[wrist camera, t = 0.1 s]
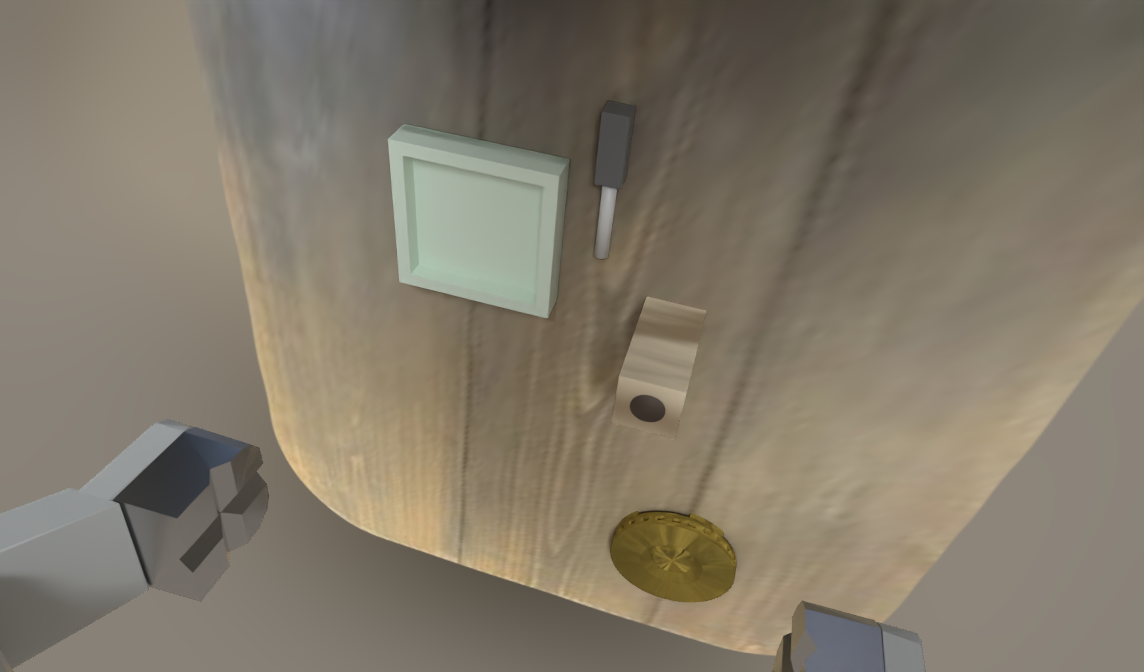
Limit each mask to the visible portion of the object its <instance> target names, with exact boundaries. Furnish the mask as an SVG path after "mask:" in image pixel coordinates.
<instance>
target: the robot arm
mask: <svg viewBox="0 0 1144 672" xmlns="http://www.w3.org/2000/svg"><path fill="white" fill-rule="evenodd" d="M262 464H263V460H262V455H261V451H260V448H259V447H257V446H254V445H250V444H247V443H244V442H241V441H238V440H235V439H232V438H229V437H225V436H222V435H219V434H216V433H213V432H210V431H206V430H203V429H200V428H197V427H193V426H190V425H187V424H183V423H180V422H177V421H173V420H170V419H164V420H162V421H159V422H157V423H154V424H153V425H152V426H151V427H150V428H148V429H147V430H146V431H145V432H144V433H143V434H142V435H141V436H140V437H138V438H137V439H136V440H135V441H134V442H133V443H132V444H131V445H130V446H128V447H127V448H126V449H125V450H124V451H123V452H122V453H120V454H119V455H118V456H117V457H116V458H115V459H114V460H113V461H111V462H110V463H109V464H108V465H107V466H106V467H105V468H104V469H103V470H101V471H100V472H99V473H98V474H97V475H96V476H95V477H93V478H92V479H91V480H90V481H89V482H88V483H87V484H86V485H85V486H83V487H82V488H81V489H80V490H76V489H72V488H69V489H66V490H64V491H61V492H58V493H56V494H53V495H51V496H47V497H45V498H42V499H39V500H36V501H34V502H31V503H29V504H26V505H23V506H20V507H17V508H15V509H12V510H9V511H7V512H4V513H1V514H0V672H14V671H13V670H12V669H13V668H15V667H17V666H18V665H20V664H22V663H24V662H25V661H27V660H29V659H30V658H32V657H34V656H36V655H37V654H39V653H41V652H42V651H44V650H46V649H48V648H49V647H51V646H53V645H55V644H56V643H58V642H60V641H61V640H63V639H65V638H67V637H68V636H70V635H72V634H74V633H76V632H77V631H79V630H81V629H82V628H84V627H86V626H88V625H89V624H91V623H93V622H95V621H96V620H98V619H100V618H101V617H103V616H105V615H107V614H108V613H110V612H112V611H114V610H115V609H117V608H119V607H120V606H122V605H124V604H126V603H127V602H129V601H131V600H133V599H134V598H136V597H138V596H139V595H141V594H143V593H145V592H146V591H148V590H149V587H152V588H156V589H159V590H163V591H166V592H169V593H173V594H177V595H180V596H183V597H187V598H190V599H194V600H197V601H200V602H201V601H202V600H203V599H204V597H205V596H206V595H207V593H208V592H209V591H210V590H211V589H212V587H213V586H214V585H215V584H216V582H217V581H218V580H219V579H220V577H221V576H222V575H223V574H224V572H225V571H226V570H227V569H228V567H229V566H230V565H229V564H230V561H229V560H230V558H229V557H230V556H229V554H230V551H232V550H234V549H236V548H238V547H241V546H243V545H245V544H247V543H248V542H249V541H250V540H251V538H252V537H253V536H254V534H255V533H256V532H257V530H258V529H259V527H260V525H261V523H262V521H263V519H264V516H265V514H266V511H267V508H268V500H269V493H268V486H267V483H266V482H265V481H264V480H263V479H262V477H261V476H260V475H259V474H258V473H257V470H258V469H259V468H260V467H261V466H262ZM148 586H149V587H148ZM772 672H926V669H925V662H924V655H923V647H922V641H921V639H920V638H919V636H918V634H917V633H914V632H911V631H907V630H904V629H900V628H897V627H893V626H890V625H886V624H883V623H879V622H875V620H871V619H868V618H864V617H860V616H857V615H853V614H849V613H846V612H842V611H838V610H834V609H831V608H827V607H823V606H820V605H816V604H812V603H809V602H805V601H801V602H800V603H799V604H798V605H797V608H796V610H795V612H794V614H793V616H792V633H789V634H787V635H784V636H783V638H782V641H781V643H780V645H779V648H778V650H777V654H776V658H775V662H774V666H773V671H772Z"/></svg>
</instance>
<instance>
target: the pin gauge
mask: <svg viewBox="0 0 1144 672" xmlns="http://www.w3.org/2000/svg"><path fill="white" fill-rule="evenodd" d="M635 112H636V106H634V105H629V104H623V103H618V102H613V101H608V102H607V104H606V105H605V107H604V109H603V110H602V114H601V124H600V133H599V143H598V152H597V161H596V171H595V180H594V184H597V185H602V193H601V202H600V211H599V220H598V228H597V237H596V246H595V257H596V258H599V259H606V258H608V256H609V248H610V240H611V232H612V225H613V217H614V209H615V202H616V194H617V189H621V188H622V186H623V184H624V182H625V179H626V177H627V170H628V163H629V155H630V148H631V141H632V133H633V126H634V119H635Z"/></svg>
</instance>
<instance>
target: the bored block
mask: <svg viewBox="0 0 1144 672" xmlns="http://www.w3.org/2000/svg"><path fill="white" fill-rule="evenodd" d="M705 315H706V310H702V309H698V308H693V307H689V306H685V305H681V304H677V303H672V302H668V301H664V300H660V299H656V298H651V297H646V300H645V303H644V306H643V308H642V311H641V314H640V317H639V320H638V323H637V326H636V329H635V332H634V334H633V337H632V340H631V343H630V346H629V349H628V352H627V355H626V358H625V360H624V363H623V366H622V369H621V372H620V375H619V380H618V386H617V391H616V397H615V403H614V409H613V415H612V420H611V423H615V424H619V425H623V426H626V427H630V428H634V429H638V430H641V431H645V432H649V433H653V434H656V435H660V436H664V437H668V438H672V439H675V437H676V433H677V429H678V425H679V422H680V418H681V414H682V410H683V406H684V402H685V398H686V395H687V391H688V386H689V382H690V378H691V374H692V370H693V365H694V361H695V357H696V353H697V349H698V344H699V340H700V336H701V332H702V328H703V324H704V319H705Z"/></svg>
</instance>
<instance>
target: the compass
mask: <svg viewBox="0 0 1144 672" xmlns="http://www.w3.org/2000/svg"><path fill="white" fill-rule="evenodd" d="M723 535H724V532H723V531H722V530H720V529H719V528H718V527H717V526H715V525H714V524H712V523H711V522H709V521H707V520H705V519H703V518H701V517H699V516H696V515H694V514H691V513H690V515H689V517H687V516H683V515H679V514H675V513H667V512H648V513H642V514H640V513H639V512H638V511H636V512H634V513H631V514H630V515H628V516H626V517H625V518H624V519H622V520H621V522H620V523H619V524H618V526H617V528H616V532H615V535H614V538H613V541H612V545H611V551H610V552H611V558H612V561H613V563H614V565H615V567H616V568H617V570H618V571H619V572H620V574H621V575H622V576H623V577H624V578H625V579H627V580H628V581H629V582H630V583H632V584H633V585H635V586H636V587H638V588H640V589H641V590H643V591H645V592H647V593H650V594H652V595H655V596H657V597H661V598H664V599H668V600H673V601H679V602H703V601H708V600H712V599H715V598H718V597H720V596H721V595H723V594H725V593H726V592H727V591H728V590H729V589H730V588H731V586H732V585H733V582H734V579H735V572H736V563H737V561H736V555H735V552H734V550H733V548H732V546H731V545H730V544H729V542H728V541H727V540H726V539H725V538H724V537H723Z"/></svg>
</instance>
